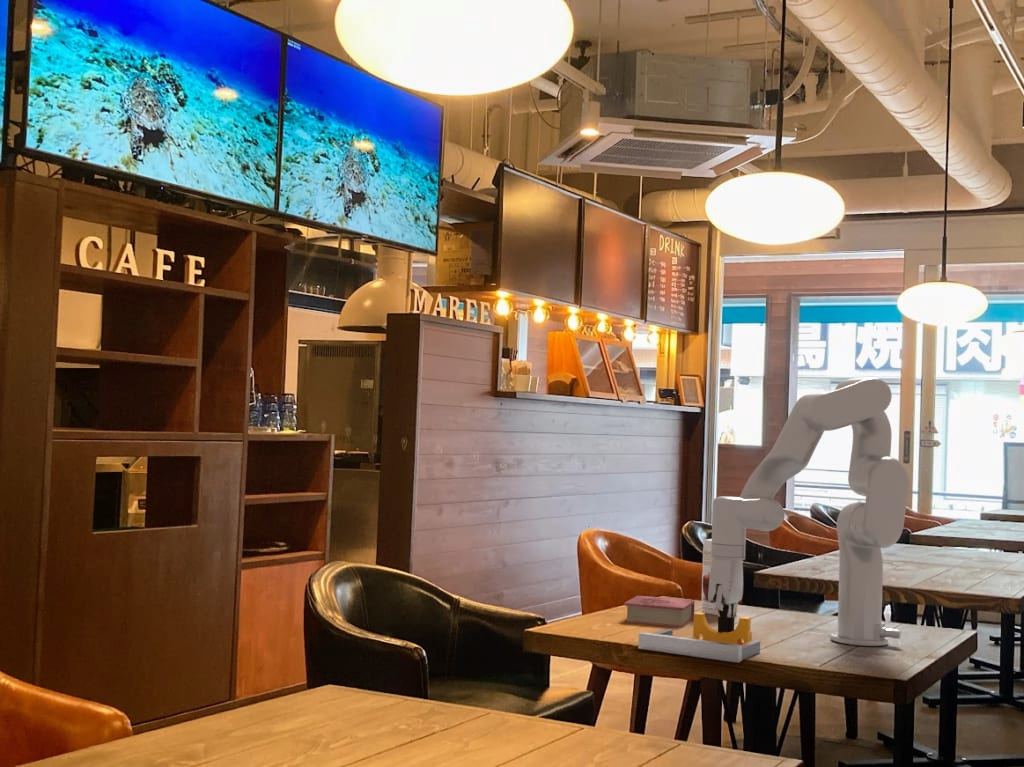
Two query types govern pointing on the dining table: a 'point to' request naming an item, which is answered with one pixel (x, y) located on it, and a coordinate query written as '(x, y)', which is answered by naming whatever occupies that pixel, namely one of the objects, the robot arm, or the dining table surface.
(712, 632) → the pipe clamp
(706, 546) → the juice carton
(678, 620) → the book
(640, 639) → the bracket
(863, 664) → the dining table surface
